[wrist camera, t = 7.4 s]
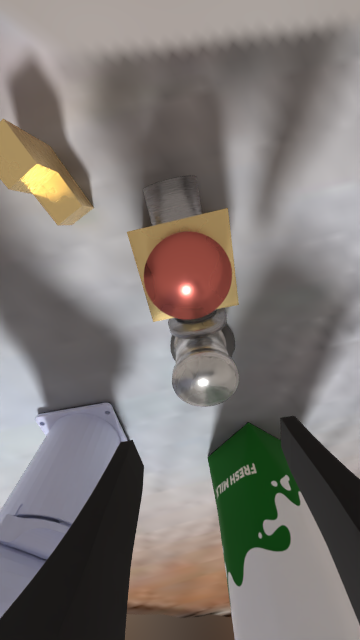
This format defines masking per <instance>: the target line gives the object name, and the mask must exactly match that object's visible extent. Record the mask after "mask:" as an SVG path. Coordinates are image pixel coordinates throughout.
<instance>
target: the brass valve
mask: <svg viewBox="0 0 360 640" xmlns="http://www.w3.org/2000/svg"><path fill="white" fill-rule="evenodd" d="M143 191H144V195H145V199H146V204H147V208H148V212H149V216H150V220H151V224H152V226H150V227H146V228H142V229H137V230H133V231H129V232H127V234H128V237H129V241H130V244H131V247H132V251H133V254H134V258H135V261H136V264H137V268H138V271H139V275H140V278H141V281H142V285H143V288H144V292H145V295H146V299H147V302H148V305H149V309H150V312H151V316H152V319H153V322H155V321H160V320H165V319H169V321H168V325H169V329H170V332H171V334H172V335H173V336H175V337H178V338H182V339H197V338H202V337H206V336H209V335H212V334H214V333H216V332H218V331H220V330H221V329H222V328H224V326H225V325H226V323H227V318H226V312H225V310H224V309H223V308H225V307H230V306H235V305H239V303H238V295H237V286H236V277H235V268H234V259H233V250H232V241H231V232H230V224H229V215H228V208H226V209H222V210H217V211H213V212H209V213H205V214H202V209H201V203H200V196H199V190H198V184H197V177H196V176H182V177H176V178H172V179H168V180H164V181H161V182H158V183H155V184H152V185H150V186H148V187H146V188H144V189H143Z"/></svg>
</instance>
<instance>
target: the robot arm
mask: <svg viewBox="0 0 360 640" xmlns="http://www.w3.org/2000/svg"><path fill="white" fill-rule="evenodd" d="M108 411H109V412H108ZM35 420H36V422H37V423H38V425H39V426H40V428H41V429H42V431H43V432H44V434H45V435H46V437H45V439H44V441H43V442H42V444H41V446H40V447H39V449H38V450H37V452H36V454H35V455H34V457H33V459H32V460H31V462H30V463H29V465H28V467H27V468H26V470H25V471H24V473H23V475H22V476H21V478H20V480H19V481H18V483H17V484H16V486H15V488H14V489H13V491H12V492H11V494H10V496H9V497H8V499H7V501H6V502H5V504H4V505H3V507H2V509H1V510H0V640H125V627H126V614H127V601H128V589H129V578H130V567H131V560H132V552H133V546H134V540H135V534H136V528H137V522H138V515H139V509H140V503H141V496H142V489H143V473H144V465H143V463H142V461H141V458H140V456H139V454H138V451H137V449H136V447H135V445H134V442H133V440H130V441H128V440H127V438H126V436H125V434H124V431H123V429H122V427H121V425H120V423H119V420H118V418H117V416H116V414H115V412H114V410H113V407H112V405H111V404H110V403H100V404H95V405H89V406H83V407H77V408H71V409H65V410H60V411H54V412H48V413H42V414H38V415H37V416H36V418H35ZM280 421H281V448H282V450H283V453H284V456H285V458H286V461H287V463H288V466H289V468H290V471H291V473H292V475H293V477H294V479H295V481H296V483H297V485H298V487H299V489H300V491H301V493H302V495H303V498H304V500H305V502H306V504H307V506H308V508H309V510H310V512H311V514H312V516H313V518H314V520H315V522H316V524H317V526H318V528H319V530H320V532H321V534H322V536H323V538H324V540H325V542H326V545H327V547H328V549H329V551H330V554H331V556H332V559H333V561H334V563H335V566H336V568H337V571H338V573H339V575H340V578H341V580H342V583H343V585H344V588H345V590H346V593H347V595H348V598H349V600H350V603H351V605H352V607H353V610H354V612H355V615H356V617H357V620H358V622H359V625H360V479H359V478H358V477H356V476H355V475H354V474H353V473H352V472H351V471H350V470H349V469H347V468H346V467H345V466H344V465H343V464H342V463H341V462H340V461H339V460H338V459H337V458H336V457H335V456H334V455H332V454H331V453H330V452H329V451H328V450H327V449H326V448H325V447H324V446H323V445H322V444H321V443H320V442H319V441H318V440H317V439H316V438H315V437H314V436H313V435H312V434H311V433H310V432H309V431H308V430H307V429H306V428H305V427H304V426H303V424H302V423H301V422H300V421H299V420H298V419H297V418H296V417H295V416H290V417H283V418H280Z"/></svg>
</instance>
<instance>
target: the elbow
mask: <svg viewBox="0 0 360 640" xmlns="http://www.w3.org/2000/svg"><path fill="white" fill-rule="evenodd" d="M0 179H1V180H2V182H3V183H4V184H5V185H6V186H7V188H8V189H10V190H15V191H20V192H26V193H31V194H33V195H34V196H35V197H36V198H37V200H38V201H39V202H40V203H41V205H42V206H43V207H44V208H45V210H46V211H47V212H48V213H49V215H50V216H51V217H52V219H53V220H54V221H55V222H56V224H57V225H72V224H74V223H75V222H76V221H78V220H79V219H80V218H81V217H83V216H84V215H85V214H86V213H88V212H89V211H90V210H92V209H93V206H92V205H91V203H90V202H89V200H88V199H87V198H86V196H85V195H84V193H83V192H82V191H81V189H80V188H79V186H78V185H77V184H76V182H75V181H74V179H73V178H72V176H71V175H70V174H69V172H68V171H67V169H66V168H65V167H64V165H63V164H62V162H61V161H60V159H59V158H58V157H57V155H56V154H55V152H54V151H53V150H52V148H51V147H50V146H49V145H47V144H46V143H44V142H42V141H40V140H39V139H37V138H35V137H34V136H32V135H30V134H28V133H27V132H25V131H23V130H22V129H20V128H18V127H17V126H15V125H13V124H11V123H10V122H8V121H6V120H5V119H2V120H1V121H0Z"/></svg>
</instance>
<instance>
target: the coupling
mask: <svg viewBox="0 0 360 640" xmlns="http://www.w3.org/2000/svg"><path fill="white" fill-rule="evenodd" d="M174 352H175V354H176V364H175V366H174V369H173V374H172V385H173V388H174V391H175V393H176V394H177V395H178V396H179V398H181V399H182V400H183V401H185V402H186V403H189V404H191V405H195V406H201V407H207V406H214V405H217V404H220V403H222V402H224V401H226V400H227V399H229V398H230V397H231V396H232V395H233V394H234V392H235V391H236V389H237V387H238V384H239V373H238V370H237V367H236V365H235V363H234V361H233V360H232V358H231V357H230V356H229V355H228V352H227V349H226V340H225V337H224V334H223V332H222V330H220V331H218V332H216V333H214V334H212V335H209V336H206V337H202V338H197V339H182V338H178V337H175V338H174Z"/></svg>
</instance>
